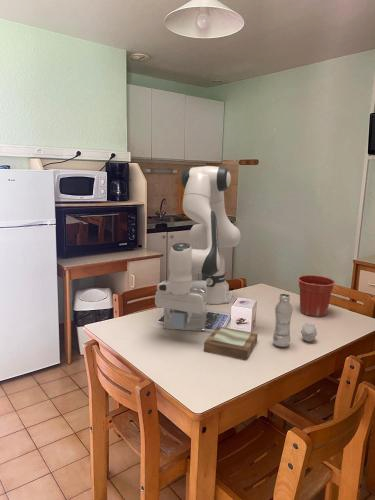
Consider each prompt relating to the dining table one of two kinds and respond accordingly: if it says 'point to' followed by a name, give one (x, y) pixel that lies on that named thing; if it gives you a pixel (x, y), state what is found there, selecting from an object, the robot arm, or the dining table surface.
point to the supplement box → (196, 320)
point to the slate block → (178, 319)
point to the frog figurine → (308, 332)
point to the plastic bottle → (282, 321)
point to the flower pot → (315, 294)
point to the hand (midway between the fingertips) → (179, 320)
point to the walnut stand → (231, 342)
